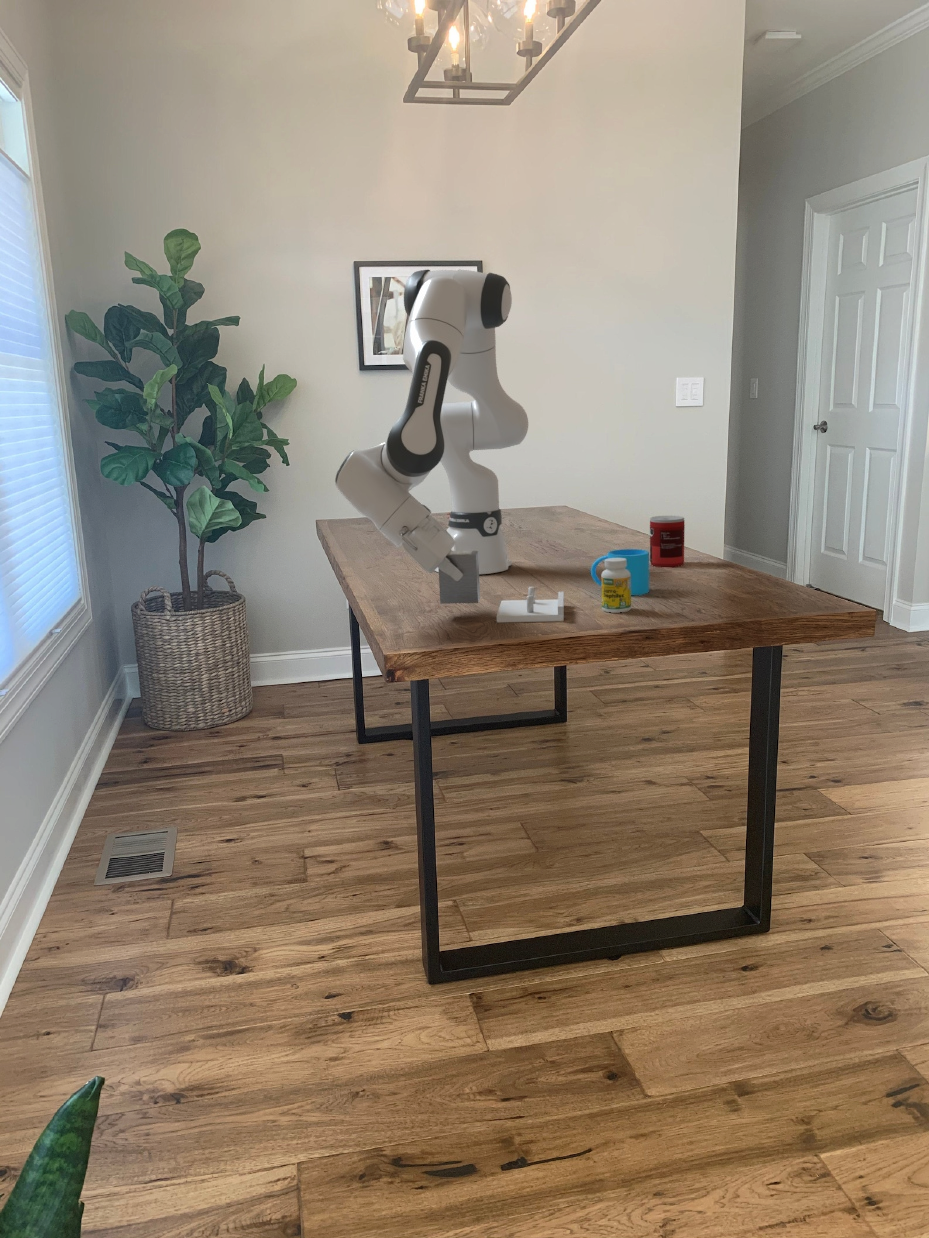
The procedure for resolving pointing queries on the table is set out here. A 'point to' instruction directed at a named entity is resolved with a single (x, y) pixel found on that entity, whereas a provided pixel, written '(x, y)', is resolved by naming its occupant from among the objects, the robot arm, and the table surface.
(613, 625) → the table surface
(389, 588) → the table surface
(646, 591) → the mug
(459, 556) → the block
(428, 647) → the table surface
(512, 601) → the white pegged base
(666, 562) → the canned food
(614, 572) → the supplement bottle
